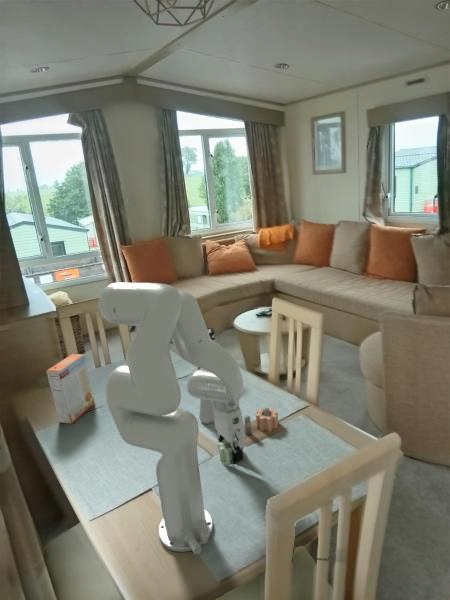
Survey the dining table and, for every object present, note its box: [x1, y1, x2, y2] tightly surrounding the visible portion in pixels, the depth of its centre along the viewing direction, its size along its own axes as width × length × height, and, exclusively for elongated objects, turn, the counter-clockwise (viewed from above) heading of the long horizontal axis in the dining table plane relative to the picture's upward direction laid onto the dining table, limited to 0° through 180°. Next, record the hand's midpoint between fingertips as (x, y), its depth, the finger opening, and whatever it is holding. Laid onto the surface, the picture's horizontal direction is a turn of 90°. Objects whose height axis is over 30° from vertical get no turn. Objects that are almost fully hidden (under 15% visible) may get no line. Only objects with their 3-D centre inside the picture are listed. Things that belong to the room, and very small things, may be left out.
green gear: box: [217, 439, 244, 466], centre depth 120 cm, size 7×7×4 cm
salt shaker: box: [198, 399, 214, 425], centre depth 137 cm, size 6×6×13 cm
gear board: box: [243, 407, 287, 447], centre depth 130 cm, size 10×15×7 cm, turn 120°
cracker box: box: [46, 353, 96, 425], centre depth 150 cm, size 14×6×21 cm, turn 161°
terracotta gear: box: [255, 407, 279, 432], centre depth 132 cm, size 7×7×4 cm
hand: (231, 454), depth 121 cm, fingers closed on green gear, 6 cm apart
